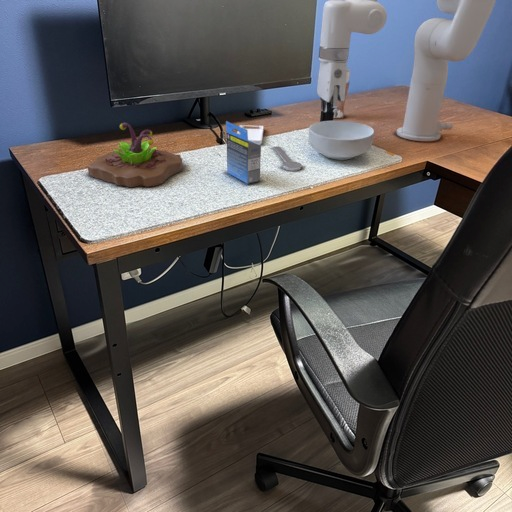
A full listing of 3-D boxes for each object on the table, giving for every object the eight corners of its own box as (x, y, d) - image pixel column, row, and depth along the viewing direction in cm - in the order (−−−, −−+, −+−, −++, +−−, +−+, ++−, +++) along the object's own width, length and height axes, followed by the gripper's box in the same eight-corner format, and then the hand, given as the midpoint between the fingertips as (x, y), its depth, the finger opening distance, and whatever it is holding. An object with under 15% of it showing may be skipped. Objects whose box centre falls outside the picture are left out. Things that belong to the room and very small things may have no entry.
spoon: (284, 148, 132) (284, 145, 132) (303, 170, 118) (303, 167, 117) (268, 148, 132) (268, 146, 131) (285, 171, 117) (285, 168, 117)
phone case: (261, 145, 134) (263, 130, 147) (261, 140, 133) (263, 125, 146) (234, 144, 134) (239, 129, 147) (234, 139, 134) (239, 124, 147)
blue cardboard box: (261, 181, 111) (262, 127, 105) (247, 184, 109) (247, 130, 103) (239, 169, 117) (239, 118, 111) (225, 172, 115) (225, 120, 109)
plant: (127, 152, 126) (122, 108, 121) (194, 163, 120) (192, 118, 114) (75, 178, 110) (66, 128, 105) (148, 192, 104) (143, 141, 98)
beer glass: (348, 115, 164) (354, 68, 157) (340, 120, 159) (345, 71, 151) (329, 112, 167) (334, 66, 160) (321, 116, 162) (325, 69, 155)
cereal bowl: (306, 143, 136) (308, 118, 133) (367, 146, 135) (370, 121, 131) (306, 164, 122) (309, 136, 118) (374, 168, 120) (378, 139, 117)
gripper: (358, 59, 120) (348, 133, 129) (337, 50, 132) (330, 118, 141) (329, 58, 118) (321, 133, 127) (311, 50, 131) (305, 119, 140)
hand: (326, 125), depth 134 cm, fingers closed
